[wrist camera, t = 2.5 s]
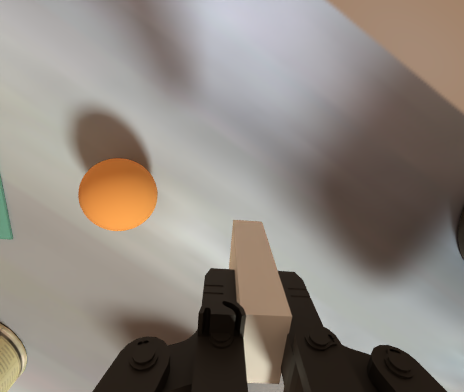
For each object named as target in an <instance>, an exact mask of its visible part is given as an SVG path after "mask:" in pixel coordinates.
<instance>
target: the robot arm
mask: <svg viewBox="0 0 464 392" xmlns="http://www.w3.org/2000/svg"><path fill="white" fill-rule="evenodd" d="M458 243H459V248H460V252H461V254H462V257H463V259H464V209H463V212H462V215H461V218H460V223H459V229H458ZM281 372H282V377H283V381H284V391H283V392H447V391H446V390H445V389H444V388H443V387H442V386H441V385H440V384H439V383H438V382H437V381H436V380H435V379H434V378H433V377H432V376H431V375H430V374H429V373H428V372H427V371H426V370H425V369H424V368H423V367H422V366H421V365H420V364H419V363H418V362H417V361H416V360H415V359H414V358H412V357H411V356H410V355H409V354H407V353H406V352H404V351H402V350H400V349H398V348H396V347H392V346H389V345H379V346H377V347H375V348H374V349H373V351H372V353H371V355H369V354H366V353H363V352H360V351H356V350H353V349H350V348H348V347H345V346H343V345H341V343H340V341H339V340H338V338H337V337H336V335H335V334H333V333H332V332H331V331H330V330H329V329H327V328H325V327H323V324H322V322H321V320H320V318H319V316H318V313H317V311H316V309H315V307H314V304H313V302H312V300H311V298H310V295H309V293H308V291H307V289H306V286H305V284H304V282H303V280H302V279H301V278H300V277H299V276H298V275H297V274H296V273H295V272H285V271H277V267H276V264H275V261H274V258H273V255H272V252H271V249H270V245H269V242H268V239H267V236H266V233H265V230H264V227H263V223H262V222H258V221H243V220H233V230H232V241H231V252H230V262H229V269H214V268H211V269H210V270H209V271H208V273H207V274H206V275H205V281H204V290H203V299H202V307H201V309H200V311H199V317H198V329H197V331H196V333H195V334H194V335H193V336H192V337H190V338H189V339H187V340H185V341H183V342H180V343H177V344H173V345H169V346H167V344H166V343H165V342H164V341H163V340H161V339H159V338H156V337H143V338H139V339H136V340H134V341H133V342H131V343H129V344H128V345H127V346H126V347H125V348H124V349H123V350H122V351H121V352H120V353H119V355H118V356H117V358H116V359H115V360H114V362H113V363H112V365H111V366H110V368H109V369H108V370H107V372H106V373H105V375H104V376H103V377H102V379H101V380H100V382H99V383H98V385H97V386H96V387H95V389H94V390H93V392H248V386H247V383H272V384H279V382H280V376H281Z"/></svg>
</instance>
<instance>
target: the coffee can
mask: <svg viewBox="0 0 464 392" xmlns="http://www.w3.org/2000/svg"><path fill="white" fill-rule="evenodd" d="M26 364H27V355H26V351H25V348H24V346H23V344H22V342H21V341H20V340H19V339H18V338H17V336H16V335H15V334H14V333H13V332H12V331H11V330H10V329H8V328H6V327H5V326H4V325H2V324H1V323H0V392H7V391H8V390H9V389H10V387H11V386H12V385H13V383H14V382H15V381H16V379H17V378H18V377H19V376H20V375H21V374H22V373H23V371H24V370H25V367H26Z"/></svg>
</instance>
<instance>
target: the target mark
mask: <svg viewBox="0 0 464 392" xmlns="http://www.w3.org/2000/svg"><path fill="white" fill-rule="evenodd" d="M0 239H13V236H12V231H11V226H10V221H9V216H8V211H7V206H6V201H5V196H4V191H3V186H2V181H1V176H0Z"/></svg>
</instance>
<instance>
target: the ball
mask: <svg viewBox="0 0 464 392" xmlns="http://www.w3.org/2000/svg"><path fill="white" fill-rule="evenodd" d="M156 202H157V187H156V184H155V181H154V179H153V177H152V176H151V174H150V173H149V172H148V170H146V169H145V168H144V167H143V166H142V165H140V164H138V163H136V162H134V161H132V160H128V159H122V158H114V159H108V160H104V161H102V162H99V163H98V164H96V165H94V166H93V167H92V168H90V169H89V170H88V172H87V173H86V174H85V175H84V177H83V179H82V181H81V183H80V186H79V203H80V206H81V208H82V210H83V212H84V214H85V215H86V216H87V218H88V219H89V220H90V221H92V222H93V223H94V224H96V225H97V226H99V227H101V228H104V229H107V230H112V231H124V230H129V229H132V228H135V227H137V226H139V225H140V224H142V223H143V222H145V221H146V220H147V219H148V218H149V217H150V215H151V214H152V212H153V210H154V208H155V206H156Z"/></svg>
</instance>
